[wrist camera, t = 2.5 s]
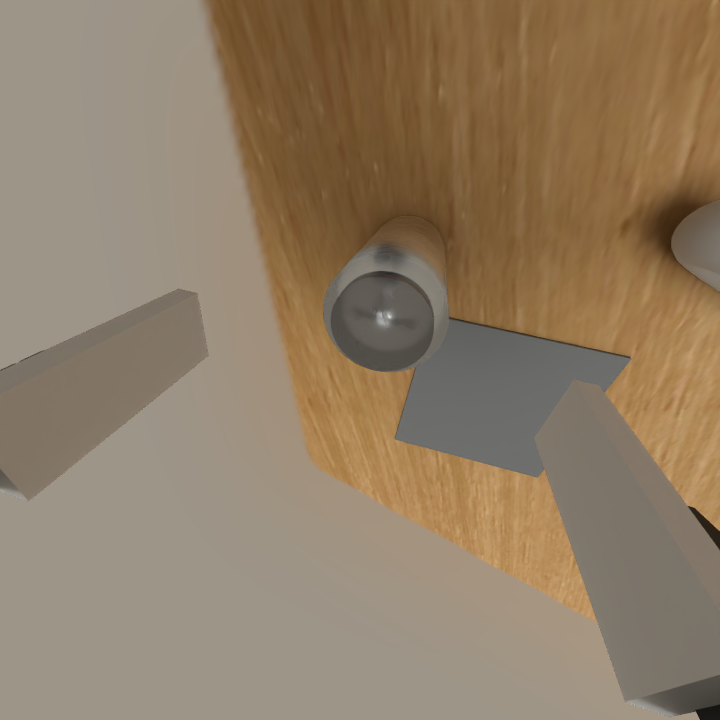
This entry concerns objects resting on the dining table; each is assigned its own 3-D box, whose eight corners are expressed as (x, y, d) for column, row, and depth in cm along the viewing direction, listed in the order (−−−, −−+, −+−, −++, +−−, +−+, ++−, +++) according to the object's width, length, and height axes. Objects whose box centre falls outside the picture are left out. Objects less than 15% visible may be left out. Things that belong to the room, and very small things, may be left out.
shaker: (375, 208, 21) (321, 248, 11) (455, 223, 20) (469, 277, 11) (364, 285, 24) (314, 366, 15) (433, 299, 24) (428, 393, 14)
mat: (431, 314, 24) (431, 315, 24) (629, 357, 23) (631, 358, 22) (395, 437, 33) (394, 439, 33) (536, 475, 31) (537, 477, 31)
